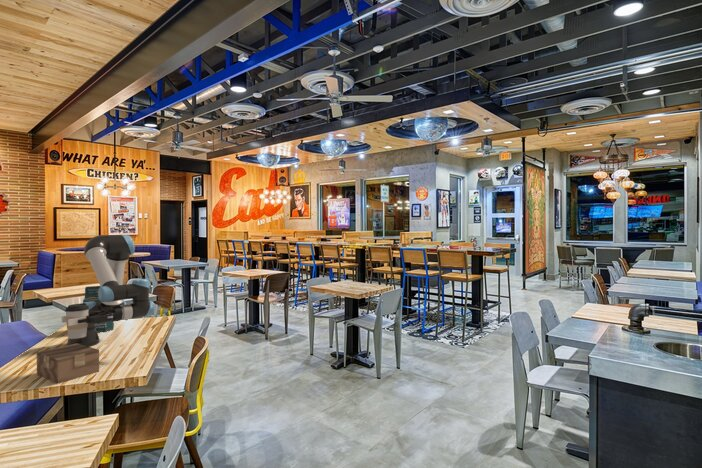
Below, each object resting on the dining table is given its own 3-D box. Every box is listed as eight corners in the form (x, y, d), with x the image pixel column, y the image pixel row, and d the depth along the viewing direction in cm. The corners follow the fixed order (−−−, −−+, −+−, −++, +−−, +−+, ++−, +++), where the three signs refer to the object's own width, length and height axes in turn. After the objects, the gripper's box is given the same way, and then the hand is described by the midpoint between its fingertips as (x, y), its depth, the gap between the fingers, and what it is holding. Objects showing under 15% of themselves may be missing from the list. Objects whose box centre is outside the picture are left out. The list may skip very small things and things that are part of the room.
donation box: (113, 326, 257) (113, 285, 257) (113, 331, 243) (112, 288, 243) (85, 329, 249) (84, 286, 249) (82, 334, 235) (82, 289, 235)
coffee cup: (70, 340, 167) (70, 306, 167) (61, 337, 172) (61, 304, 172) (93, 335, 175) (93, 303, 175) (83, 333, 179) (83, 301, 179)
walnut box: (35, 375, 169) (35, 352, 169) (77, 363, 183) (77, 343, 183) (57, 384, 159) (57, 360, 158) (99, 371, 173) (99, 349, 173)
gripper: (129, 323, 181) (72, 333, 163) (111, 317, 194) (57, 325, 176) (129, 307, 181) (72, 316, 163) (111, 302, 194) (57, 309, 176)
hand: (65, 321), depth 170 cm, fingers closed on coffee cup, 8 cm apart
